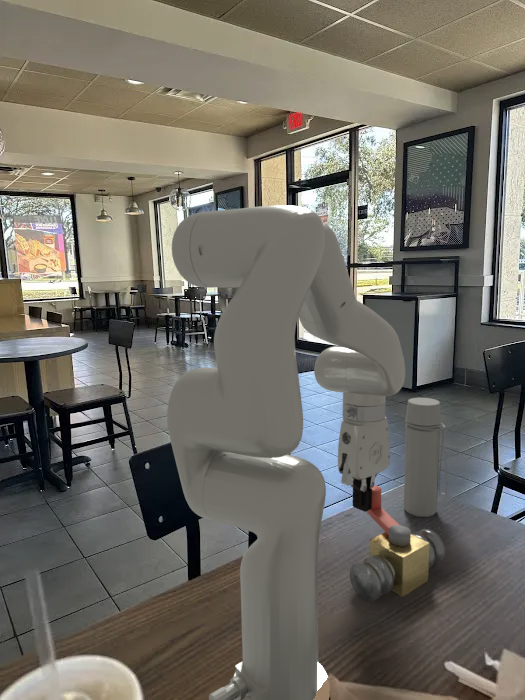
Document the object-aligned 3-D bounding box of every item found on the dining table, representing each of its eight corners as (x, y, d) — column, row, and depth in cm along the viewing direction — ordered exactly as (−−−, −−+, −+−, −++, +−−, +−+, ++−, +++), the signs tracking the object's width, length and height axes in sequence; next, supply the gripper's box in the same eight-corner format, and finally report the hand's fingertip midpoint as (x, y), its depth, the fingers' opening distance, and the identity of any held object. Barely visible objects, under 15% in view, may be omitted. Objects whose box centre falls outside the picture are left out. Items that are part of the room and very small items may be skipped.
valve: (379, 610, 80) (380, 569, 79) (347, 589, 85) (347, 550, 84) (446, 569, 90) (448, 532, 89) (414, 552, 96) (415, 517, 95)
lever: (414, 544, 86) (415, 516, 85) (395, 547, 85) (395, 519, 84) (377, 508, 98) (378, 484, 97) (360, 511, 97) (361, 486, 97)
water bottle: (399, 515, 110) (401, 403, 106) (407, 500, 117) (409, 395, 113) (443, 524, 106) (448, 408, 102) (449, 508, 113) (453, 399, 109)
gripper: (354, 424, 83) (352, 529, 86) (405, 407, 93) (402, 502, 96) (320, 415, 89) (319, 514, 91) (371, 400, 99) (370, 490, 101)
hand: (362, 508), depth 94 cm, fingers closed
